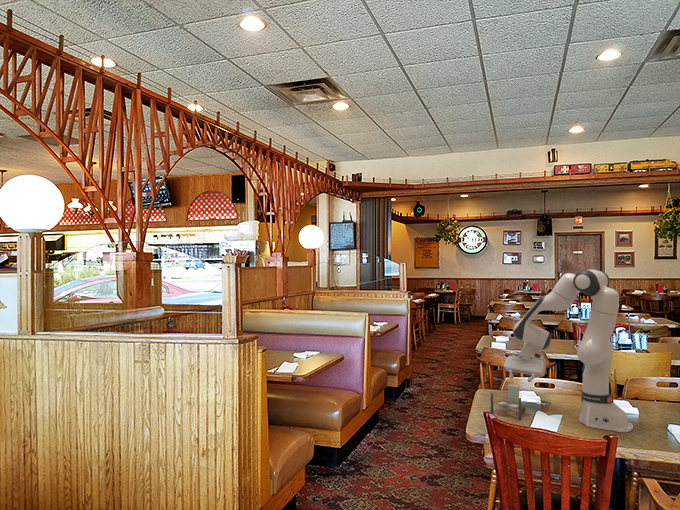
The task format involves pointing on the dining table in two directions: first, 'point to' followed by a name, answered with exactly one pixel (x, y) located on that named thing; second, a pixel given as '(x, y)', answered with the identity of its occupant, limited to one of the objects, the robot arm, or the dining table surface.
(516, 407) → the offcut upper
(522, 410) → the rack
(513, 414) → the offcut lower
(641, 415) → the dining table surface
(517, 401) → the grey-green rectangular block
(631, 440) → the dining table surface
